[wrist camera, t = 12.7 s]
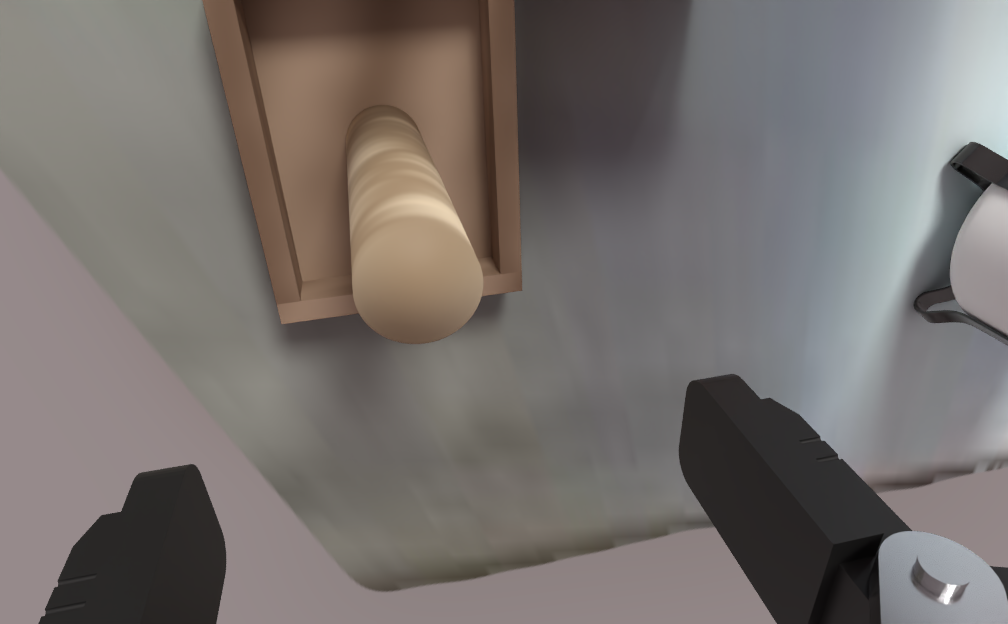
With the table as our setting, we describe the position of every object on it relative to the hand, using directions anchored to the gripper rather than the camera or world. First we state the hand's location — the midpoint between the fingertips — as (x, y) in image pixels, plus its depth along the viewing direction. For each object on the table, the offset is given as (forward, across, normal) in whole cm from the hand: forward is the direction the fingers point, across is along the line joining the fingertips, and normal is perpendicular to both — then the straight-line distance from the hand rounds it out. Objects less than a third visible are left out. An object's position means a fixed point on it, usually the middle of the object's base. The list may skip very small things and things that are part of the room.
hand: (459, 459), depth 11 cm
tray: (+21, 0, 0) cm, 21 cm away
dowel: (+20, 0, 0) cm, 20 cm away
